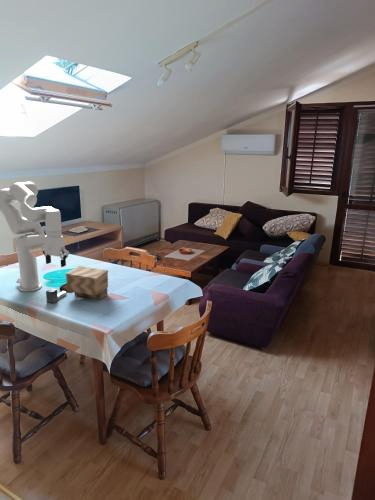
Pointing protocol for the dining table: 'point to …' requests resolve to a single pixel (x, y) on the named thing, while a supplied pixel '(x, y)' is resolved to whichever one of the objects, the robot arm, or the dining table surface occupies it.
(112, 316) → the dining table surface
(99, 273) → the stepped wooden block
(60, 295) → the grey mallet
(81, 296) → the disc
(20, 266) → the robot arm
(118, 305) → the dining table surface
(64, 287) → the sunglasses case
